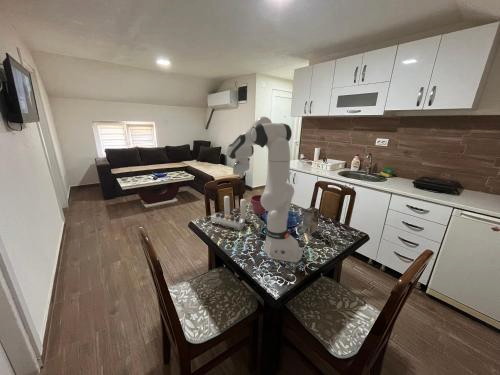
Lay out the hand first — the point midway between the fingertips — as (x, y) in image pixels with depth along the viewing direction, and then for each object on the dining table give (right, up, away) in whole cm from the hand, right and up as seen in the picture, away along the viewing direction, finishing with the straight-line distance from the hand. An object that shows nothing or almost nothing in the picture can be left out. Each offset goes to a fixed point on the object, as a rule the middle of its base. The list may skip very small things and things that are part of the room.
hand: (241, 177), depth 161 cm
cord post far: (-11, -30, +3) cm, 32 cm away
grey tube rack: (-10, -34, -10) cm, 37 cm away
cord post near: (+1, -32, -3) cm, 32 cm away
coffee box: (+47, -37, -18) cm, 63 cm away
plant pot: (+14, -28, +9) cm, 33 cm away
